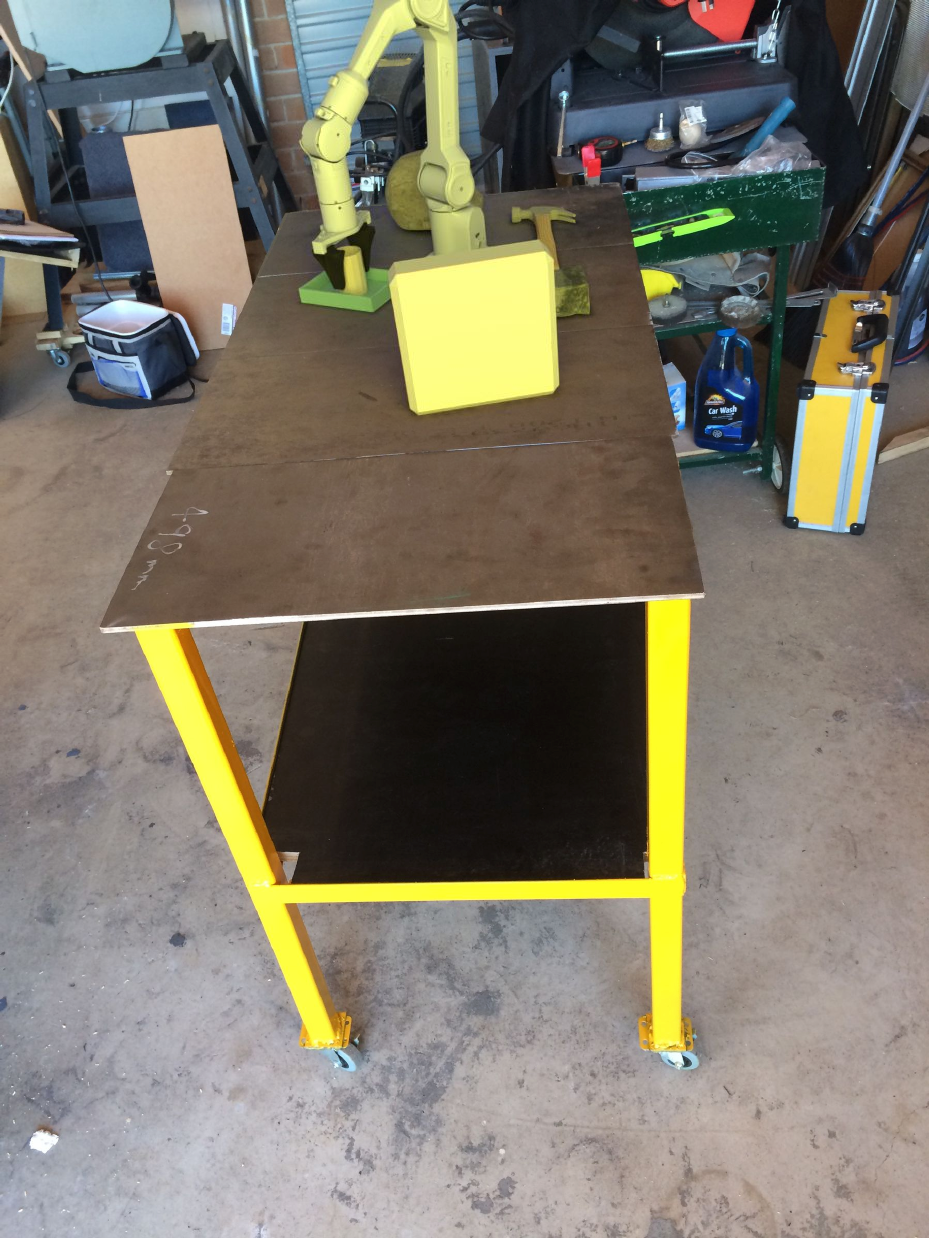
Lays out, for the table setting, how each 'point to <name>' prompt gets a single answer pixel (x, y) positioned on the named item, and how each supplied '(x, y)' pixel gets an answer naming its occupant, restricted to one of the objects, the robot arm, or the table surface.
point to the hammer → (543, 224)
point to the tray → (326, 295)
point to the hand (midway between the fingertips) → (351, 279)
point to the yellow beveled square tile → (476, 326)
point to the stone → (411, 194)
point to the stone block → (571, 291)
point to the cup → (354, 271)
